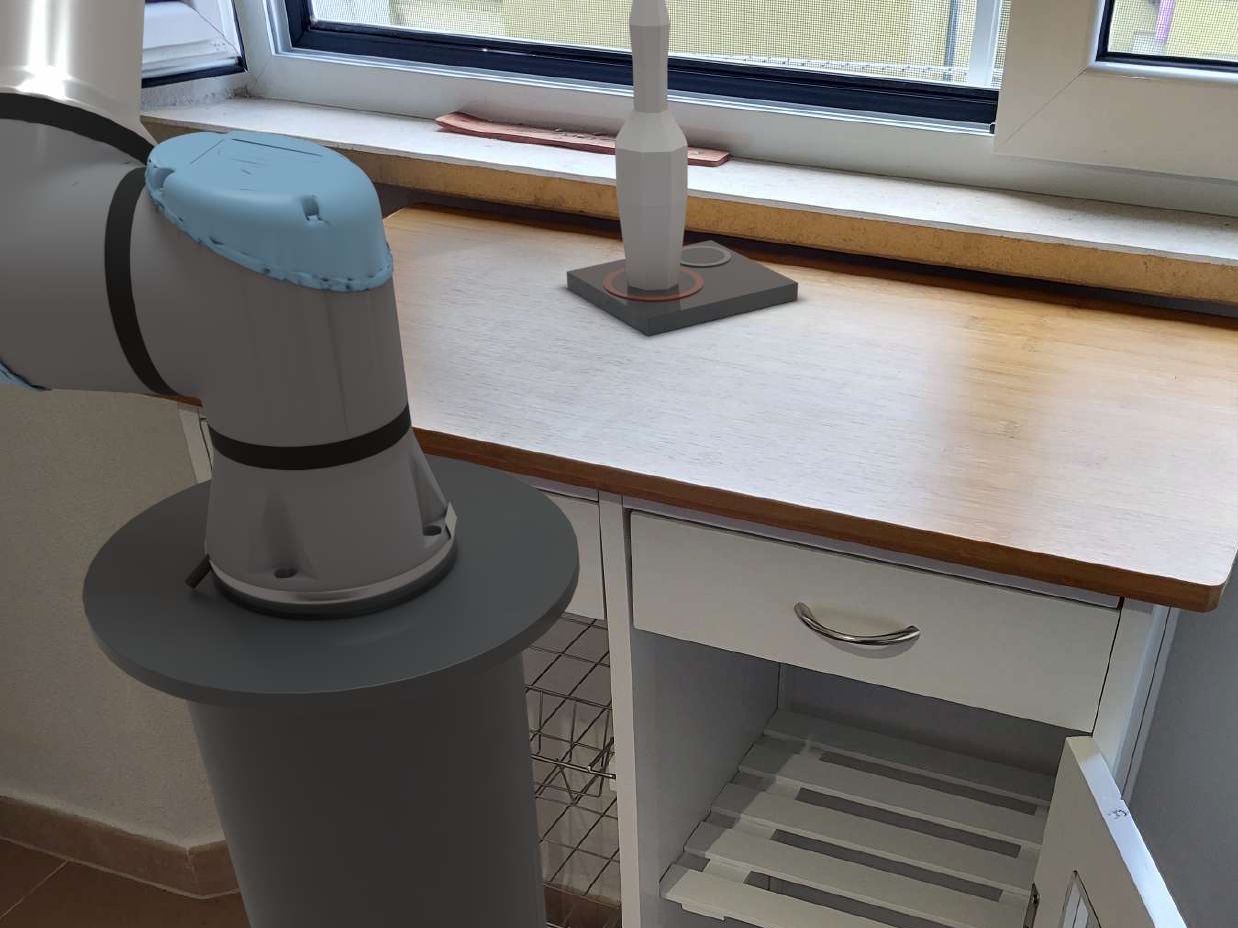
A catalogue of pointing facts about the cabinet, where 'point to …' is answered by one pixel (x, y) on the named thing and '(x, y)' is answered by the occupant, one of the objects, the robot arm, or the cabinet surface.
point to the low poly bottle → (651, 159)
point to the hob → (685, 289)
